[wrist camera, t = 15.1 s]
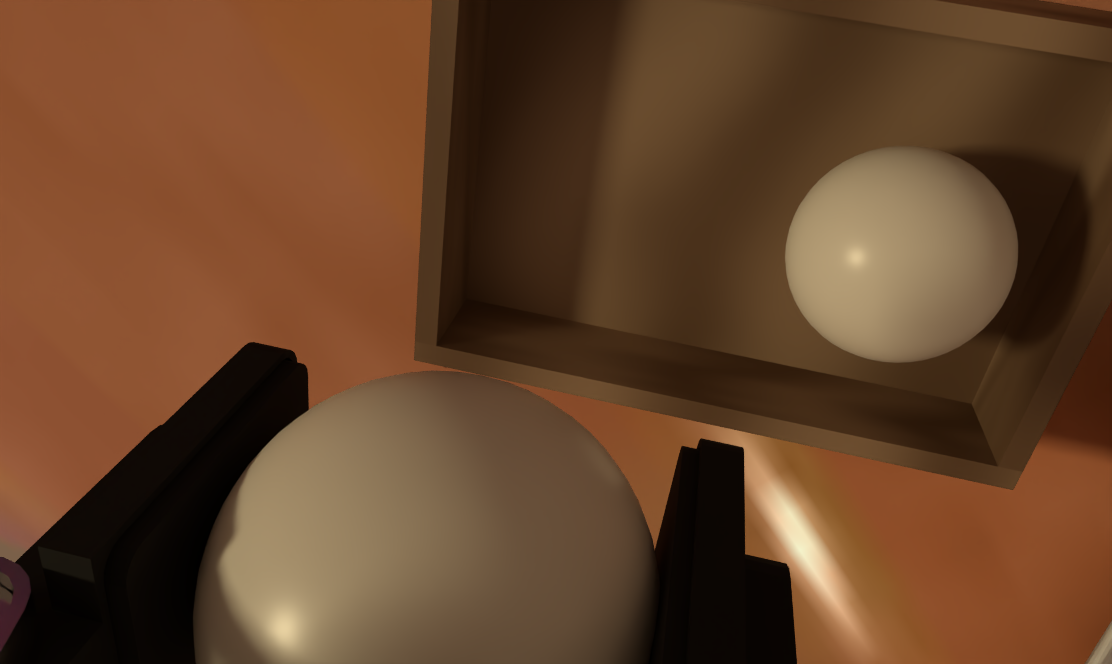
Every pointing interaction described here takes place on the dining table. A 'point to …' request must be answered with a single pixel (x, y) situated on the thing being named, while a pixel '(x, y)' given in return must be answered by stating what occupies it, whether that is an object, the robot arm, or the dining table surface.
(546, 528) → the cream ball
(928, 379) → the tray
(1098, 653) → the salad plate
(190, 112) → the dining table surface
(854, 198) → the cream ball
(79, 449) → the dining table surface
